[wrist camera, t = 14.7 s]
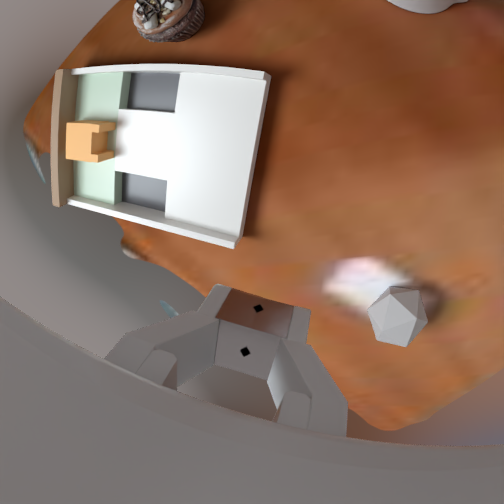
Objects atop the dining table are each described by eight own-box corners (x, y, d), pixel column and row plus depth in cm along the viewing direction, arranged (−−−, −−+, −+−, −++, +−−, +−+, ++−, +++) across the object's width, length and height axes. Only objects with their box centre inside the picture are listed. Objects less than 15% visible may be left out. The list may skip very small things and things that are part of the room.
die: (355, 301, 48) (369, 360, 42) (377, 274, 40) (396, 343, 35) (398, 295, 49) (413, 350, 43) (423, 270, 41) (444, 331, 36)
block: (83, 120, 42) (66, 122, 39) (115, 121, 41) (99, 124, 37) (81, 154, 45) (65, 158, 41) (113, 158, 44) (97, 163, 40)
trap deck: (81, 70, 41) (55, 70, 35) (271, 76, 36) (260, 69, 30) (75, 194, 52) (52, 205, 46) (242, 236, 47) (229, 255, 41)
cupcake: (183, -17, 31) (149, -39, 23) (224, 13, 33) (195, -9, 24) (142, 26, 36) (102, 15, 27) (178, 59, 37) (141, 49, 29)
